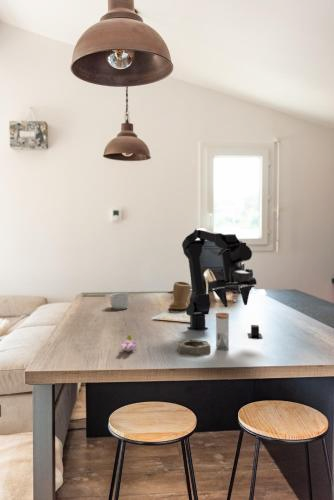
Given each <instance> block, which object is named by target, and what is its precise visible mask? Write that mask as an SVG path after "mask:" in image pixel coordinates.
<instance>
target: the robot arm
mask: <svg viewBox="0 0 334 500" xmlns="http://www.w3.org/2000/svg"><path fill="white" fill-rule="evenodd" d="M206 241H207V242H210V243H214V245H215V246H216V247H217V248H220V251H219V253H218V254H217V255H218V256H221V262H222V269H220V270H221V272H223V278H224V279H216V280H215V279H214V280H210V281H209V283H208V287H209V288H208V289H209V290H212V292H214V293H215V294H216V295H217V298H218V299H219V300H220V302H221V303H222V305H223V306H224V308H228V299H227V290H228V287H232V286H240V287H239V291H240V295H241V298H242V302H243V304H244V306H247V305H248V301H249V295H250V292H251V290H252V289H253V288H254V287H255V286H256V285H257V284H258V283H257V279H256V278H255V277H254V271H253V269H252V268H246V269H245V270H243V269H242V267H241V266H239V264H240V263H243V262H247V261H249V260H250V259H251V258H252V256H253V252H252V250H251V248H250V247H249V246H248V245H247V242H241V241H240V240H239V238H238V237H237V235H236V233H234V232H224V233H223V232H221V233H220V232H217V231H213V230H209V229H206V228H195V229H194V230H193V232H192V233H190V234H188V235H187V236H186V237H185V238H184V240H183V241H182V243H181V246H182V249H183V250H182V251H183V255H184V256H186V258H187V260H188V267H189V276H190V283H191V284H190V285H191V290H192V292H191V294H190V297H189V304H188V305H187V308H186V309H185V313H186V314H185V315H187V316H189V326H187V327H186V328H187V329H189V330H192V331H195V332H196V331H197V332H198V331H202V330H208V327H207V326H206V315H209V314H210V309H211V300H210V298H211V297H210V294H209V293H206V291H205V289H204V281H203V273H202V266H201V264H202V263H201V259H200V257H201V255H202V253H203V247H204V246H205V244H206Z"/></svg>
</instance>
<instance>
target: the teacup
mask: <svg viewBox="0 0 334 500" xmlns="http://www.w3.org/2000/svg"><path fill="white" fill-rule="evenodd" d="M109 299H110V306H111V308H113V309H114V310H117V311H118V310H119V311H121V310H125V309H127V308H128V307H129V306H130V300H131V299H130V293H127V292H119V293H112V294H110V295H109Z"/></svg>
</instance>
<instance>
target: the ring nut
mask: <svg viewBox="0 0 334 500" xmlns="http://www.w3.org/2000/svg"><path fill="white" fill-rule="evenodd" d="M177 351H178V352H179V354H180V355H188V356H189V355H190V356H201V355H207V354H210V353H211V344H210V342H208V341H207V340H200V339H187V340H182V341H177Z"/></svg>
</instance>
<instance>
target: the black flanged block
mask: <svg viewBox="0 0 334 500" xmlns="http://www.w3.org/2000/svg"><path fill="white" fill-rule="evenodd" d="M262 335H263V334H262V333H260V327H259V324H251V325H250V333H249V332H247V338H248V339H250V340H251V339H254V340H263V339H264V338H263V336H262Z"/></svg>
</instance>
